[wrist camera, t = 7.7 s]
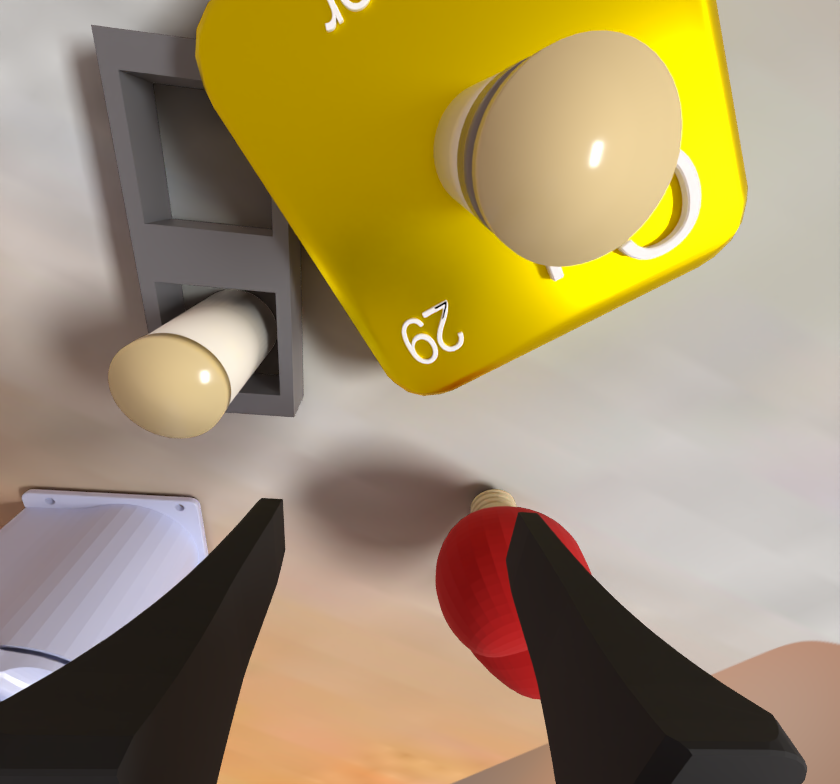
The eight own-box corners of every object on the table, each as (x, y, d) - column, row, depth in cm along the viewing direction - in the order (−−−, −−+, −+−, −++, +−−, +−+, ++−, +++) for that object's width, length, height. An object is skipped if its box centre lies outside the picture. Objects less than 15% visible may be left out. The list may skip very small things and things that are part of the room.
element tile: (587, -214, 14) (673, -394, 9) (691, 226, 20) (771, 240, 15) (216, 64, 16) (150, 23, 12) (408, 374, 22) (410, 420, 18)
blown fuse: (423, 203, 14) (459, 252, 8) (443, 65, 12) (509, 5, 6) (527, 219, 15) (631, 278, 9) (562, 91, 13) (721, 57, 7)
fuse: (203, 359, 21) (120, 434, 15) (193, 284, 20) (95, 334, 13) (279, 364, 21) (229, 441, 15) (276, 291, 20) (218, 343, 14)
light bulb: (399, 471, 25) (398, 637, 16) (507, 413, 23) (574, 560, 14) (475, 566, 28) (510, 744, 19) (572, 521, 27) (658, 691, 18)
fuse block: (184, 387, 22) (162, 407, 20) (130, 44, 16) (91, 25, 14) (303, 396, 22) (294, 417, 20) (296, 66, 16) (282, 50, 14)
